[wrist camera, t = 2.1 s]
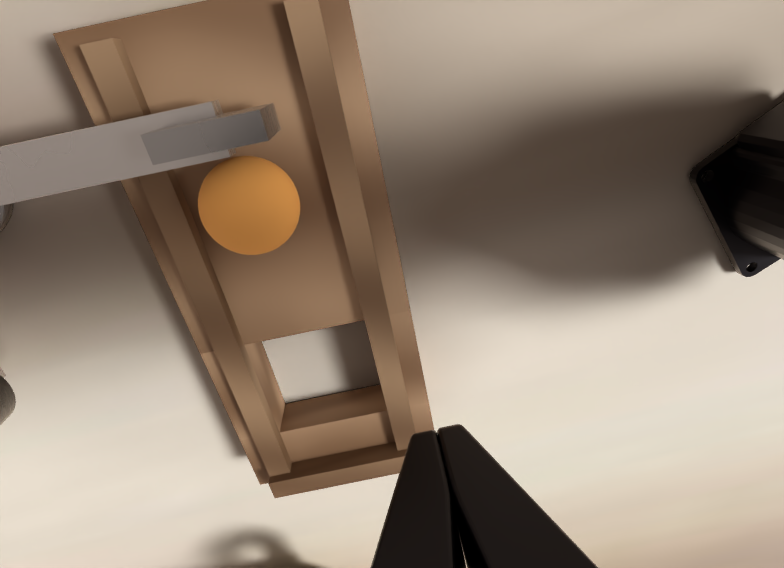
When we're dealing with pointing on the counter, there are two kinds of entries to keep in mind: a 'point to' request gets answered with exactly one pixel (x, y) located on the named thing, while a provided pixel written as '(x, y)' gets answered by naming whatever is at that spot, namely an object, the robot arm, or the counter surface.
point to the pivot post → (5, 215)
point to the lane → (304, 247)
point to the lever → (125, 157)
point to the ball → (249, 205)
